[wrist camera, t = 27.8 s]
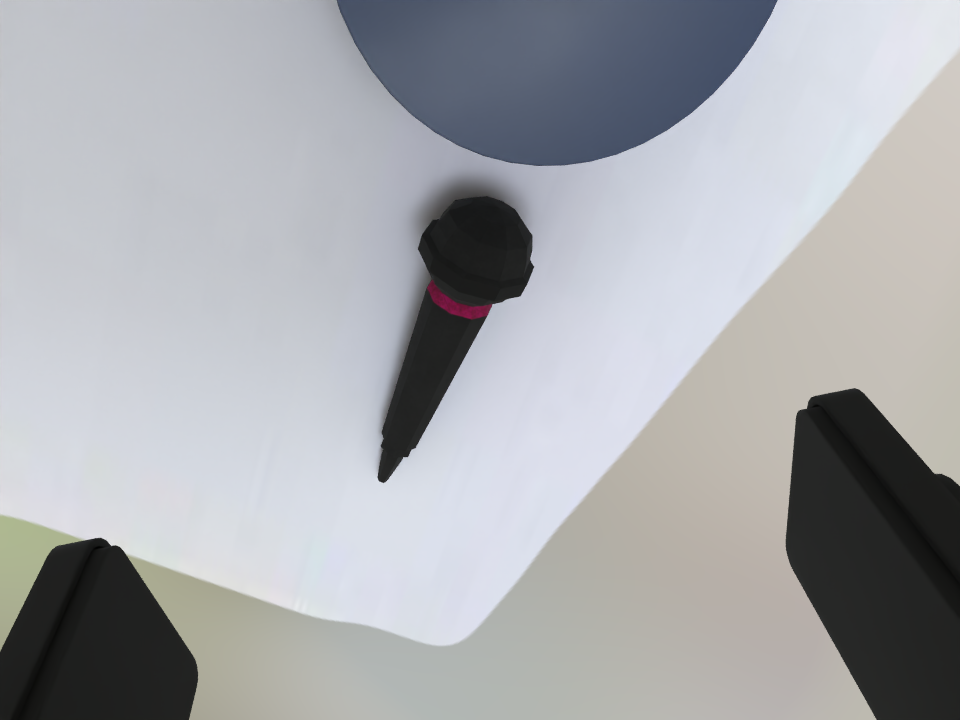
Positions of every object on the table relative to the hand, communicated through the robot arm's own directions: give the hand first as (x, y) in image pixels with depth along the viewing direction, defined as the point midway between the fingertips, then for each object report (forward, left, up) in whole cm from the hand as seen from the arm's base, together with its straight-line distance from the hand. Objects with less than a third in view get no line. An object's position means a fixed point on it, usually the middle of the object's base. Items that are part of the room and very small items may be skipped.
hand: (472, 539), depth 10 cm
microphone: (-3, -14, -28) cm, 32 cm away
